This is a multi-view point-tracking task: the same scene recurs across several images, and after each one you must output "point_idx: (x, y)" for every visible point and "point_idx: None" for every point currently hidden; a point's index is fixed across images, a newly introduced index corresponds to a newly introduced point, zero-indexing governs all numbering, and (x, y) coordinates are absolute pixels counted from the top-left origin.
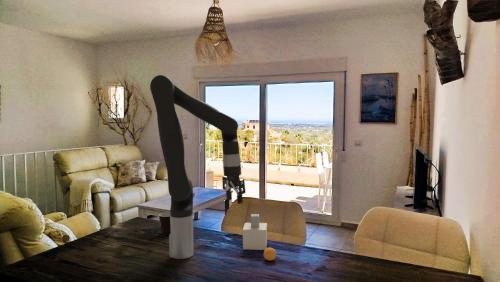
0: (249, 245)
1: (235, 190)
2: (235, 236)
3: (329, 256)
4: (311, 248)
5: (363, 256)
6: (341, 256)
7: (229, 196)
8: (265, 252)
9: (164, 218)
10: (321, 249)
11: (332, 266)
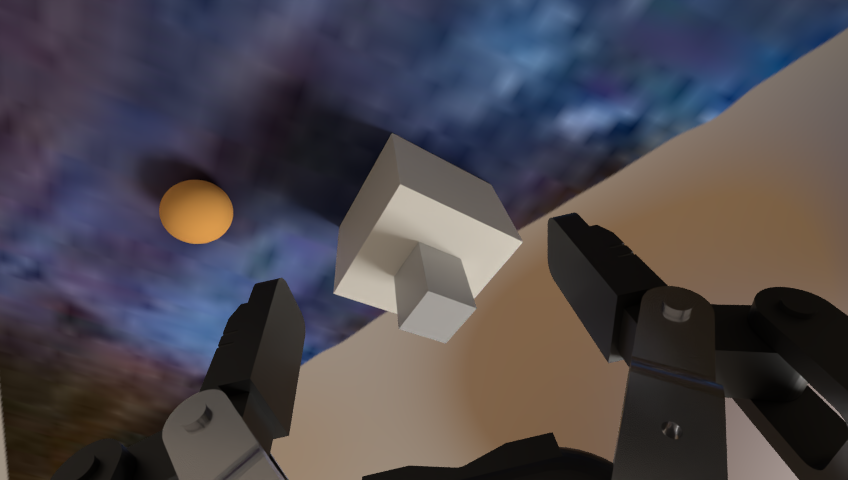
0: (376, 171)
1: (240, 464)
2: (580, 164)
3: (200, 377)
4: None
5: None
6: None
7: (570, 277)
8: (176, 195)
9: None
10: None
11: (103, 355)
